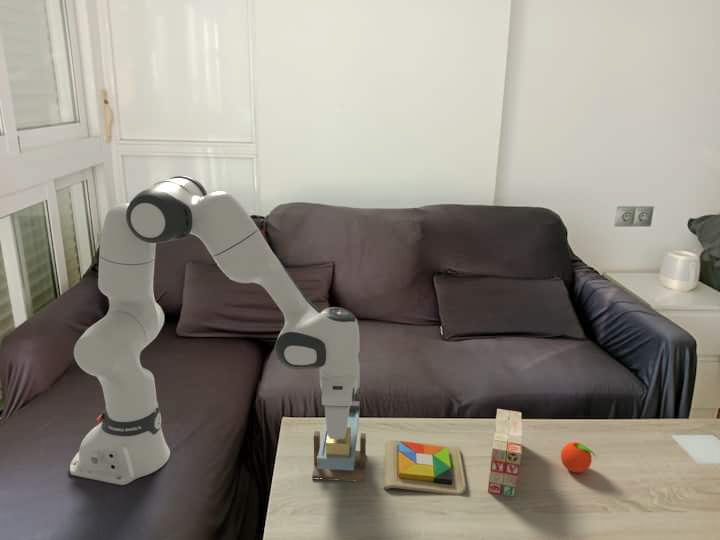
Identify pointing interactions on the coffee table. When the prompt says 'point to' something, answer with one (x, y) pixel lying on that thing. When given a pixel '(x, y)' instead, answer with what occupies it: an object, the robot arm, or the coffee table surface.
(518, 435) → the stack of blocks
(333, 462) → the beam
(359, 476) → the pivot stand
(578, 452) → the clementine
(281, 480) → the coffee table surface
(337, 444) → the block
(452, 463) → the wooden puzzle
